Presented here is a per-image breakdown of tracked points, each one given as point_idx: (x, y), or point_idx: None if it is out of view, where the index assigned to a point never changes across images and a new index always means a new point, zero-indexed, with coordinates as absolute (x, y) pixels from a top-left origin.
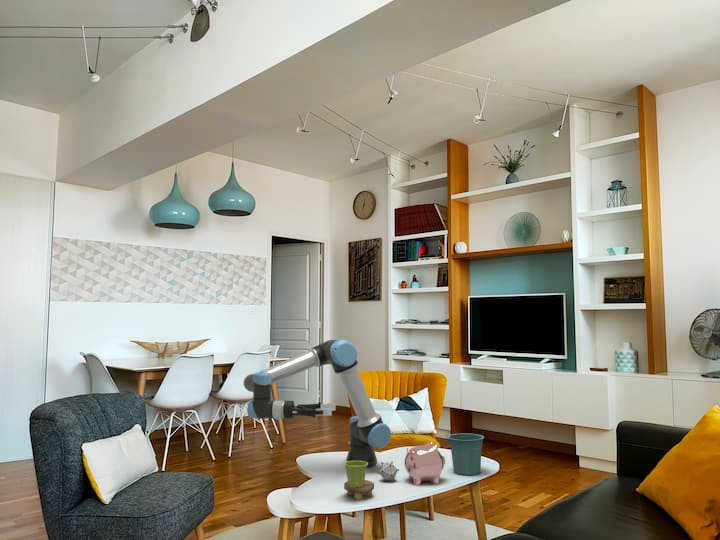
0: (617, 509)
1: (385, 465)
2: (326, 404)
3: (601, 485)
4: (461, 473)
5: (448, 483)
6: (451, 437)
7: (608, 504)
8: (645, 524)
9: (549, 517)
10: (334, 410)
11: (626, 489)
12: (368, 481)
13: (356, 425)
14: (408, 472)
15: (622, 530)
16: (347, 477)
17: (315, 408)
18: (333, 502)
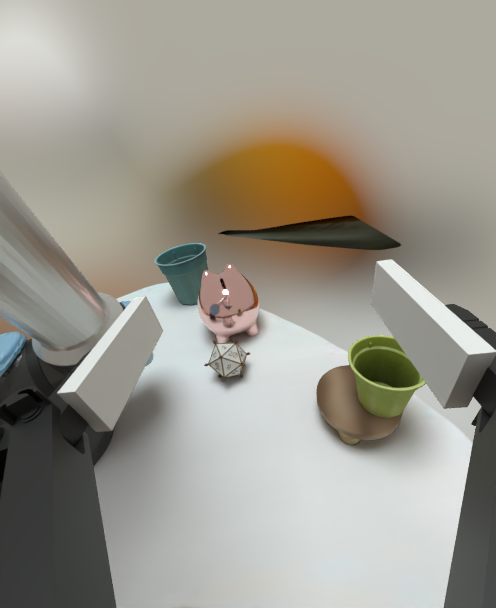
0: (312, 229)
1: (230, 352)
2: (112, 342)
3: (250, 237)
4: None
5: None
6: (163, 267)
7: (301, 232)
8: (342, 222)
9: (351, 245)
10: (160, 333)
11: (260, 230)
12: (326, 379)
13: (16, 385)
14: (243, 328)
15: (362, 225)
16: (402, 404)
17: (82, 478)
18: (452, 473)
